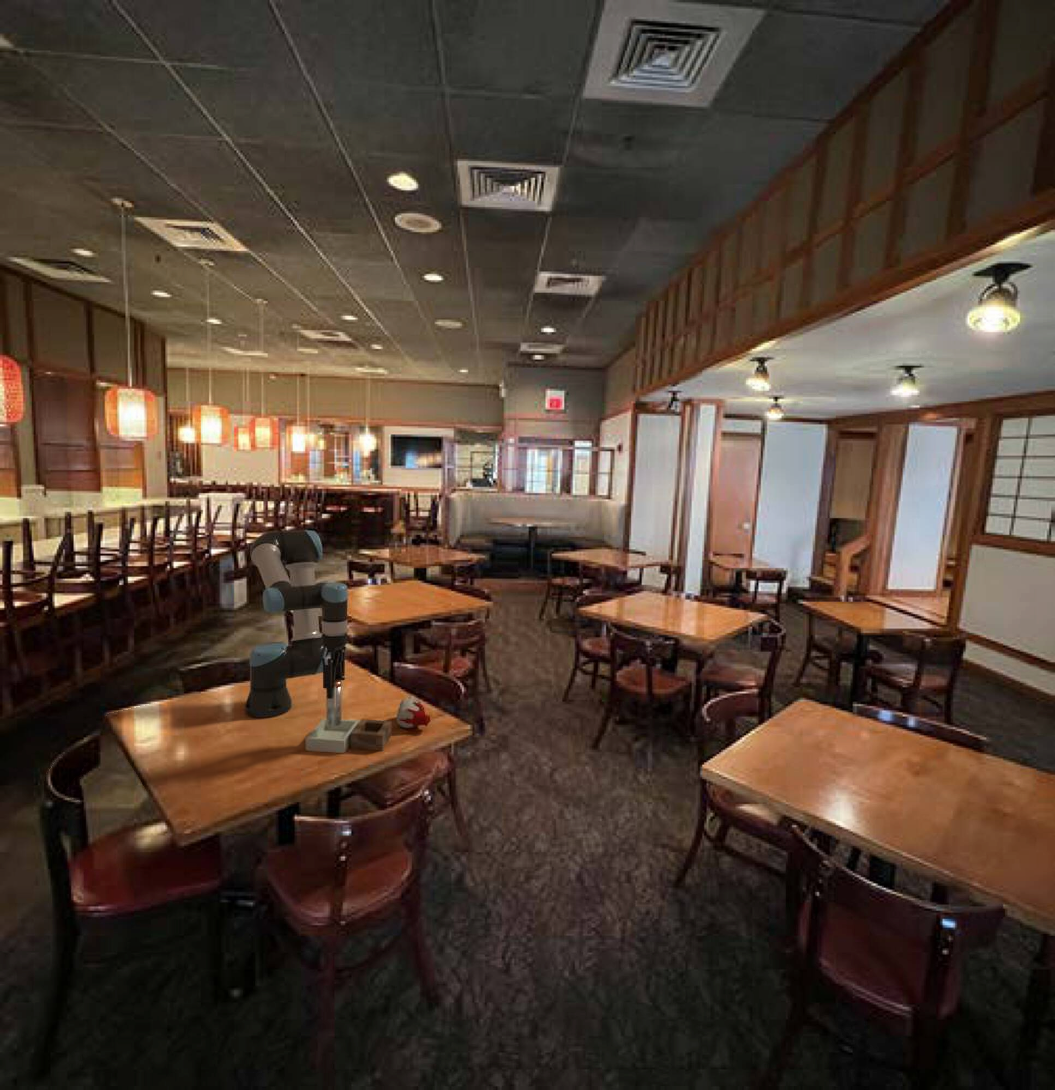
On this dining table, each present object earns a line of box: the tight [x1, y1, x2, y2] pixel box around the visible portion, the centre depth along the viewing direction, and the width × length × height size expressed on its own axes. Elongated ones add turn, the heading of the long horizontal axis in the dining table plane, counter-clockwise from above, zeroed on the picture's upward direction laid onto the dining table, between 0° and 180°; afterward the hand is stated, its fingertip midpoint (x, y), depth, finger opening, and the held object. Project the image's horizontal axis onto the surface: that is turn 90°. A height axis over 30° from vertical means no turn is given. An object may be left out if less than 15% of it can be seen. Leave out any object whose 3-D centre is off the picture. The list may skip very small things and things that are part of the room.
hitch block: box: [350, 718, 392, 752], centre depth 177 cm, size 10×10×5 cm
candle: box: [396, 695, 431, 730], centre depth 190 cm, size 9×11×15 cm
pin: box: [326, 679, 343, 727], centre depth 175 cm, size 4×4×14 cm
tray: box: [305, 717, 361, 754], centre depth 177 cm, size 14×12×4 cm
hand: (334, 703), depth 175 cm, fingers closed on pin, 4 cm apart
